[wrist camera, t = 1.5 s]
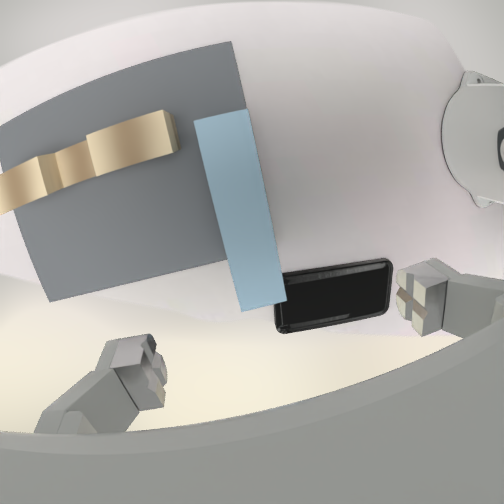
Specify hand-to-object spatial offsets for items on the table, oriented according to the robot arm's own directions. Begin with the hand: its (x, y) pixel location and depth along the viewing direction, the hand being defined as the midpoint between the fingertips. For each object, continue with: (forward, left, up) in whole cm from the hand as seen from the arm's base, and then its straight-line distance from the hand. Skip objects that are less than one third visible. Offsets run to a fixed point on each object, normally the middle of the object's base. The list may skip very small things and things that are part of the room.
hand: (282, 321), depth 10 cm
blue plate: (0, 0, -24) cm, 24 cm away
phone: (-9, +15, -25) cm, 30 cm away
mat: (+11, -4, -24) cm, 27 cm away
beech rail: (+13, -7, -24) cm, 28 cm away
